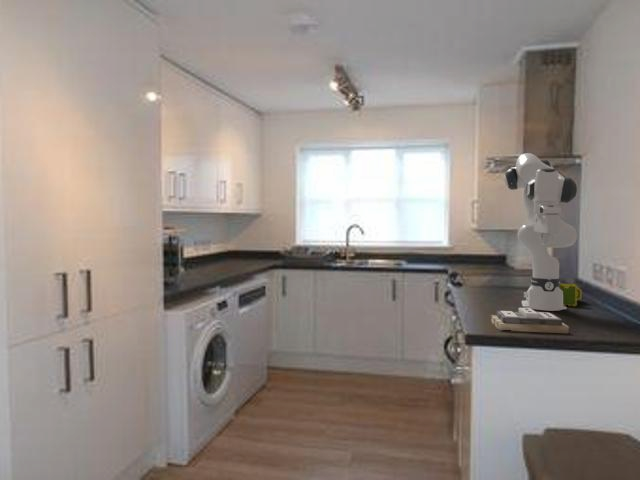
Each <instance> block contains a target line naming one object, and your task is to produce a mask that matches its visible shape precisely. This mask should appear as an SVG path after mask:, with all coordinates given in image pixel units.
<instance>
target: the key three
mask: <svg viewBox="0 0 640 480" xmlns="http://www.w3.org/2000/svg"><path fill="white" fill-rule="evenodd" d="M536 312H537V313H538V314H539V315H540V316H542V317H543V318H544V319H558V318H559V317H558V316H557V317H558V318H557V317H555V316H556V315H555V314H554V315H555V316H554V315H552V314H553V313H552V312H544V311H543V312H540V311H536ZM551 313H552V314H551Z"/></svg>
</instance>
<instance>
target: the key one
mask: <svg viewBox="0 0 640 480" xmlns="http://www.w3.org/2000/svg"><path fill="white" fill-rule="evenodd" d="M499 311H500V313H501V314H502V315H503V316H504V317H510V318H518V316H517V315H516V314H514V313H513V312H514V311H512V310H499Z"/></svg>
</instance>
